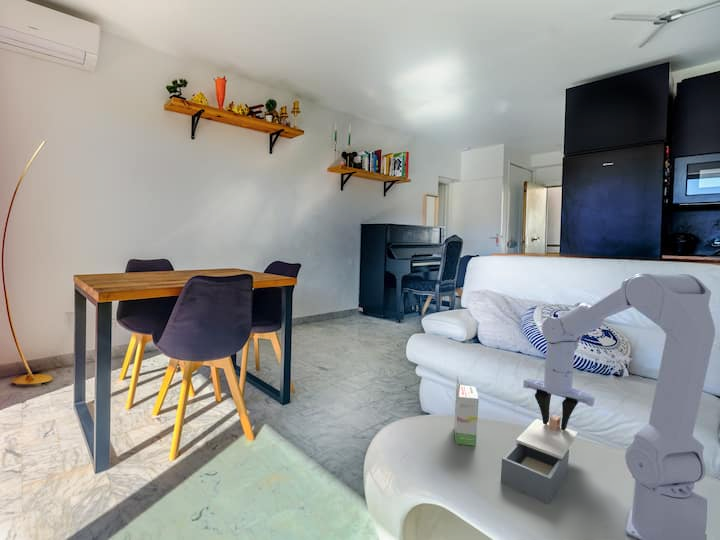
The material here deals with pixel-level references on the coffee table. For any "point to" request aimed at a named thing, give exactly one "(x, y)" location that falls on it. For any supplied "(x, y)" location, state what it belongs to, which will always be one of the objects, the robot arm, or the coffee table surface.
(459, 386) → the ink box
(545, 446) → the lid
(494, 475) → the coffee table surface
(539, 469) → the box
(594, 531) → the coffee table surface
